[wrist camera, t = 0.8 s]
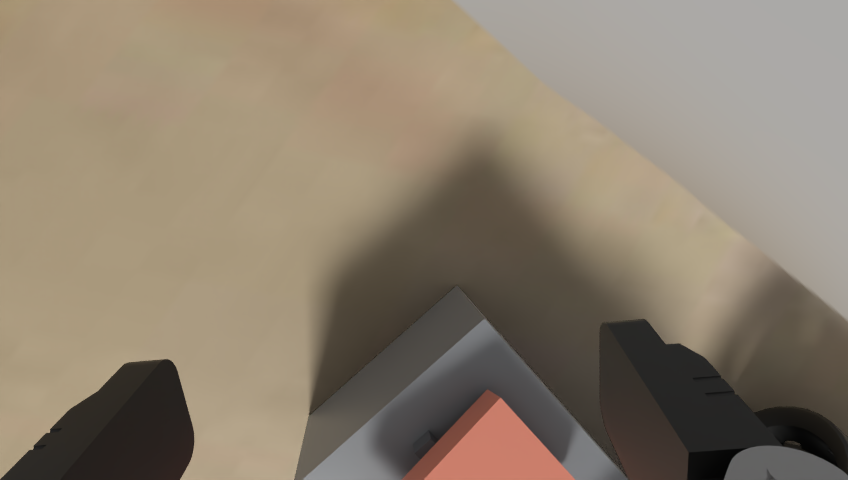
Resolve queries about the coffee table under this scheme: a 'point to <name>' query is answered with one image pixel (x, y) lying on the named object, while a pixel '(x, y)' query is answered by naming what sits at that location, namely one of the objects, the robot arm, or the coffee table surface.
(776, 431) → the muzzle brake
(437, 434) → the switch box
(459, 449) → the labelled salmon box
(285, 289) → the coffee table surface
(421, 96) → the coffee table surface
